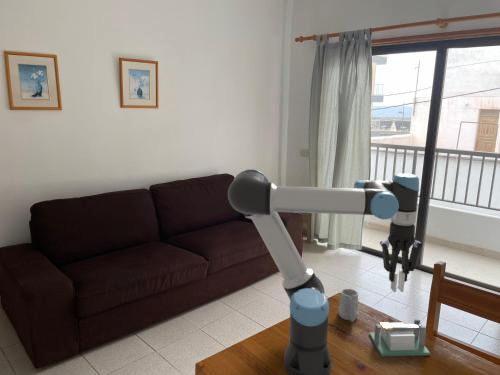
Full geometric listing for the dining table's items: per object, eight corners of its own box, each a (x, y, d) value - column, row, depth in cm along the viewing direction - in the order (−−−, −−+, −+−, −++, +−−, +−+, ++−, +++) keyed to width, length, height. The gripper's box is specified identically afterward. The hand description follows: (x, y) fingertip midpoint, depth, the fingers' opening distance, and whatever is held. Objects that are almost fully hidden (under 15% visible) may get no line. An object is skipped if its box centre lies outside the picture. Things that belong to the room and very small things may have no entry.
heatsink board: (381, 356, 126) (383, 334, 124) (369, 334, 138) (370, 314, 136) (429, 355, 126) (431, 333, 125) (413, 333, 138) (415, 313, 136)
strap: (383, 330, 129) (383, 326, 129) (379, 325, 132) (380, 321, 132) (424, 331, 130) (424, 327, 129) (419, 326, 133) (420, 322, 132)
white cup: (355, 310, 154) (357, 282, 151) (363, 327, 142) (365, 297, 140) (336, 310, 154) (337, 282, 152) (342, 327, 143) (344, 297, 140)
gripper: (384, 226, 119) (379, 296, 124) (431, 225, 119) (424, 295, 124) (375, 219, 126) (371, 285, 131) (420, 218, 126) (413, 284, 132)
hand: (396, 289), depth 128 cm, fingers closed
